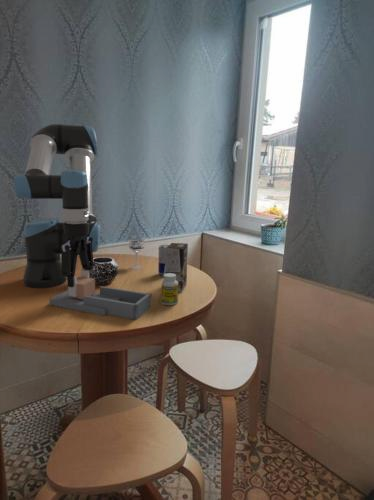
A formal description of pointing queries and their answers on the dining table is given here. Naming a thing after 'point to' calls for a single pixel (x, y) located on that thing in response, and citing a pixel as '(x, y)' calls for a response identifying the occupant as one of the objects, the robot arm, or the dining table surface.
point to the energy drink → (162, 260)
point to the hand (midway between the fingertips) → (79, 292)
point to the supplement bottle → (169, 289)
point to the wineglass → (136, 249)
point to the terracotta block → (84, 287)
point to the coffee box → (177, 263)
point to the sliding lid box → (107, 302)
